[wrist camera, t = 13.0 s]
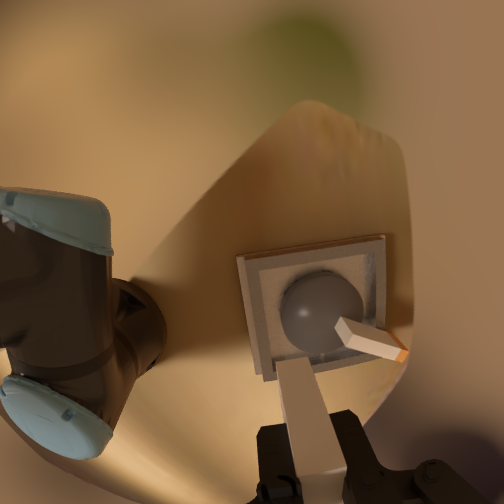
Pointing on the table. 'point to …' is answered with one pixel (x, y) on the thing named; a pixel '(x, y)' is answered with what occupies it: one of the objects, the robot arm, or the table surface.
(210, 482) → the table surface
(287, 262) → the grey rectangular tray
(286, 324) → the grey dome with handle
